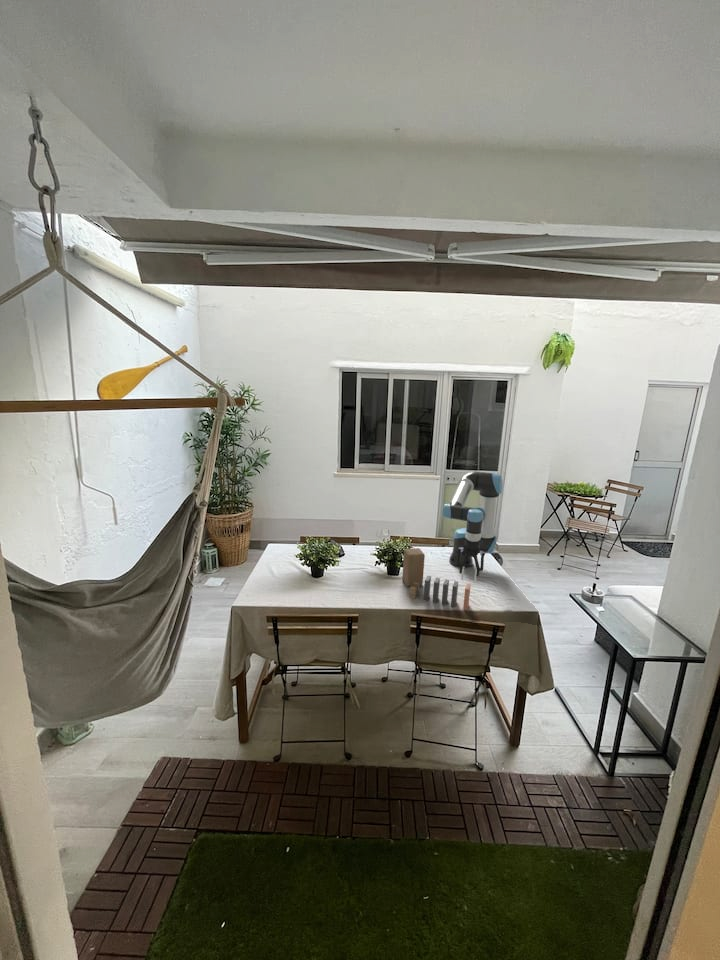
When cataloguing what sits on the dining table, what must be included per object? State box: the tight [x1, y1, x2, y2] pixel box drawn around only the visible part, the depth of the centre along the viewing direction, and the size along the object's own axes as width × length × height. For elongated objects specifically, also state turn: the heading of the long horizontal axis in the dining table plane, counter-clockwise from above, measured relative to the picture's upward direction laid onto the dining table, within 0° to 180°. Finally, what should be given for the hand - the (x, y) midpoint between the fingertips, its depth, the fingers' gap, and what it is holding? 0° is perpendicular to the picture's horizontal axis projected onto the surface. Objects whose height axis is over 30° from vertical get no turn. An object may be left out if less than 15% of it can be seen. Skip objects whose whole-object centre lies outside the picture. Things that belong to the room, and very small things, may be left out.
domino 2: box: [431, 577, 441, 604], centre depth 223 cm, size 2×6×12 cm, turn 157°
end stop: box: [409, 582, 420, 600], centre depth 228 cm, size 8×3×6 cm, turn 157°
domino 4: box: [450, 580, 459, 608], centre depth 219 cm, size 2×6×12 cm, turn 158°
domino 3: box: [441, 578, 450, 606], centre depth 221 cm, size 2×6×12 cm, turn 157°
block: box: [402, 547, 425, 587], centre depth 241 cm, size 10×10×20 cm
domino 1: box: [423, 575, 432, 602], centre depth 225 cm, size 2×6×12 cm, turn 157°
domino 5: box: [462, 583, 471, 611], centre depth 217 cm, size 2×6×12 cm, turn 157°
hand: (468, 580), depth 215 cm, fingers open, 6 cm apart
